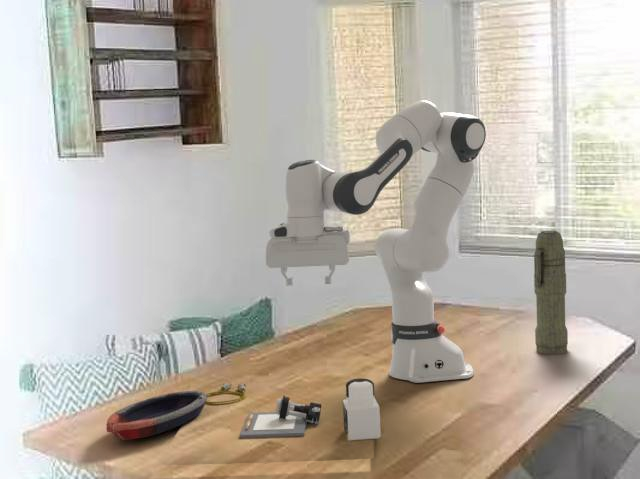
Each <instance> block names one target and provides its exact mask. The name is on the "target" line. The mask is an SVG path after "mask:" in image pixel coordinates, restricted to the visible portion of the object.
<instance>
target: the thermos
mask: <svg viewBox="0 0 640 479" xmlns="http://www.w3.org/2000/svg"><path fill="white" fill-rule="evenodd" d="M565 250H566V249H565V248H564V240H563V238H562V235H561V232H558V230H542V231H540V232H538V233H537V235H536V239H535V251H534V255H533V261H534V262H533V263H534V273H533V278H534V279H533V280H534V281H533V282H534V284H533V285H534V293H535V296H536V300H535V302H536V327H535V328H534V329H535V330H534V334H535V335H534V336H535V346H536V352H537V353H539V354H543V355H548V356H549V355H550V356H551V355H562V354H565V353H567V352H568V343H569V342H568V341H569V340H568V339H569V338H568V329H567V325H566V297H565V296H566V293H567V273H566V251H565Z"/></svg>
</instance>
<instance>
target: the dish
mask: <svg viewBox="0 0 640 479" xmlns="http://www.w3.org/2000/svg"><path fill="white" fill-rule="evenodd" d="M206 394H207V393H205V392H204V391H200V390H185V391H184V390H183V391H177V392H171V393H170V392H169V393H166V394H161V395H157V396H154V397H153V396H152V397H150V398H146V399H143V400H141V401H137V402H134V403H132V404H129V405H127V406H125V407H123V408H120V409H118V410H116V411H115V412H113V413H112V414H111V415H110V416H109V417H108V418H107V421H106V432H107V433H111V434H112V435H113V436H114V437H116V438H118V439H120V440H135V439H140V438H145V437H150V436H155V435H158V434H163V433H166V432H168V431H170V430H173V429H176V428H177V427H179V426H181V425H184V424H186V423H188V422H190V421H191V420H192V419H194V418H196V417H197V416H198V415H199V414H201V412H202V411H203V409H204V408H205V406H206V405H205V404H206V403H205V402H206V401H208V400H207V398H208V397H207V396H206Z"/></svg>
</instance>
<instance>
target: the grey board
mask: <svg viewBox="0 0 640 479" xmlns="http://www.w3.org/2000/svg"><path fill="white" fill-rule="evenodd" d="M275 413H276V411H264V412H263V411H261V412H259V411H257V412H248V415H247V418H246V420H245V422H244V425H243V427H242V429H241V432H240V435H239V437H240V438H239V439H246V438H247V439H250V438H251V439H253V438H254V439H255V438H280V437H281V438H282V437H285V438H286V437H287V438H288V437H304V436H305V435H306V429H307V424H308V422H307V419H303V418H301V417H296V416H291V415H288V416H286V419H282V418H280V419H279V415H278V414H275Z"/></svg>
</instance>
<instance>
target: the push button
mask: <svg viewBox="0 0 640 479" xmlns="http://www.w3.org/2000/svg"><path fill="white" fill-rule="evenodd" d="M290 399H291V398H290V397H289V396H286V395H283V396H282V398H277V403H276V408H275V412H276V413H275V414H278V415H279V419H280V418H282V419H286V416H288V415H291V416H296V417H301V418H303V419H307V423H310V424H315V427H316V426H317V425H318V424H319V423H320V417H321V413H322V412H321V410H322V404H321V403H317V402H316V403H315V402H309V404H299V403H294V402H292V400H290Z"/></svg>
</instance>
